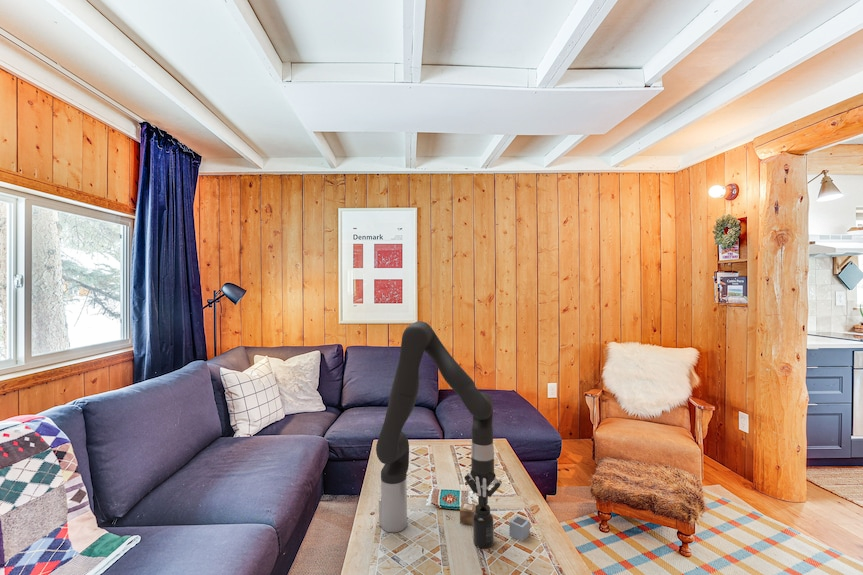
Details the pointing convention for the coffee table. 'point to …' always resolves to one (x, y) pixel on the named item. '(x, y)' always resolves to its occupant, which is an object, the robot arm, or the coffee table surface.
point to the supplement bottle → (483, 527)
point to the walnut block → (467, 513)
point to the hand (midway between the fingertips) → (483, 505)
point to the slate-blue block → (519, 528)
